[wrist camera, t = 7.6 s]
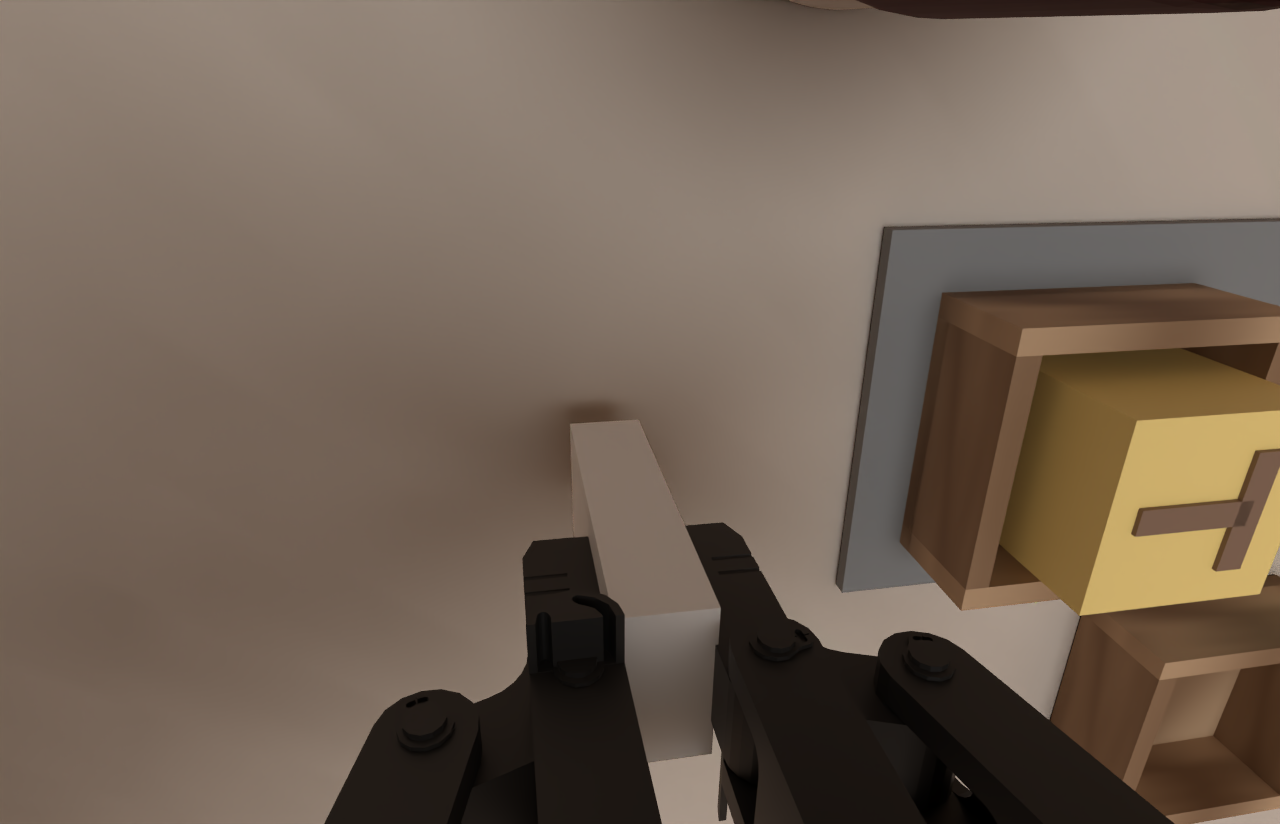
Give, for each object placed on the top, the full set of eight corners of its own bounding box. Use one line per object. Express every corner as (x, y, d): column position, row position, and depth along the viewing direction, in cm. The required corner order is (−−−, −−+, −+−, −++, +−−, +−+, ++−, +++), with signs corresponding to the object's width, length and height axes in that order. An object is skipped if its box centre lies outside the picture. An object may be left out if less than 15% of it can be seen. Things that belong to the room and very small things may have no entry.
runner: (836, 583, 21) (842, 592, 21) (884, 227, 17) (892, 230, 17) (1406, 523, 25) (1420, 529, 24) (1556, 212, 21) (1575, 214, 20)
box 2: (1038, 761, 26) (1101, 840, 23) (1087, 596, 23) (1165, 663, 21) (1210, 734, 27) (1289, 806, 24) (1275, 574, 24) (1373, 635, 22)
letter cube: (959, 508, 20) (1083, 619, 16) (991, 346, 18) (1142, 422, 14) (1108, 494, 21) (1264, 597, 16) (1153, 338, 19) (1341, 408, 15)
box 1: (899, 542, 21) (961, 610, 18) (942, 292, 18) (1022, 328, 15) (1122, 520, 22) (1211, 581, 19) (1194, 282, 19) (1312, 314, 16)
